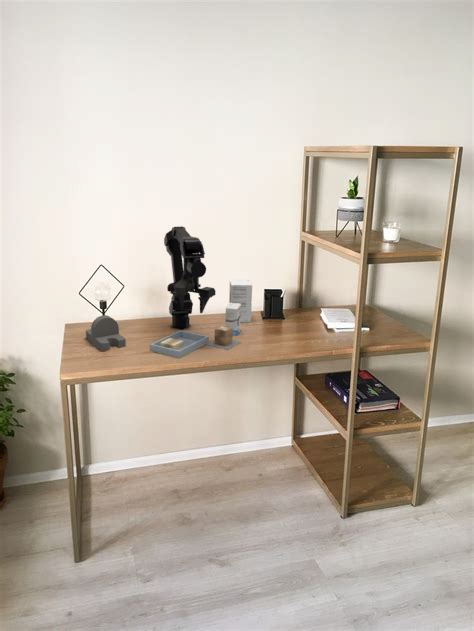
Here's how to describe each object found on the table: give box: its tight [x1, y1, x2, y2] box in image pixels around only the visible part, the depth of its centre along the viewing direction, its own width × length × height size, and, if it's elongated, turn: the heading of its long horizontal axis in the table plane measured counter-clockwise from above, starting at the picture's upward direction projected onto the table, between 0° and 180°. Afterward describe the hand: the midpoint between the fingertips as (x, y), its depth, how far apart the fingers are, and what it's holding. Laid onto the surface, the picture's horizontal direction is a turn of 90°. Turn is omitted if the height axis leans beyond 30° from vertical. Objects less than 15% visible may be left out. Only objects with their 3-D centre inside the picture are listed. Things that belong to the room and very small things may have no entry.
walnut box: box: [214, 325, 234, 346], centre depth 214 cm, size 5×5×6 cm
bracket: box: [85, 314, 127, 353], centre depth 213 cm, size 10×18×11 cm, turn 34°
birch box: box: [160, 338, 183, 350], centre depth 206 cm, size 6×6×4 cm
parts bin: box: [149, 329, 210, 359], centre depth 210 cm, size 13×19×3 cm
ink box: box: [225, 303, 242, 336], centre depth 227 cm, size 8×5×12 cm, turn 168°
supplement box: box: [228, 279, 253, 323], centre depth 245 cm, size 10×9×17 cm
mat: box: [205, 339, 242, 351], centre depth 215 cm, size 10×10×1 cm
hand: (191, 311), depth 215 cm, fingers open, 9 cm apart
